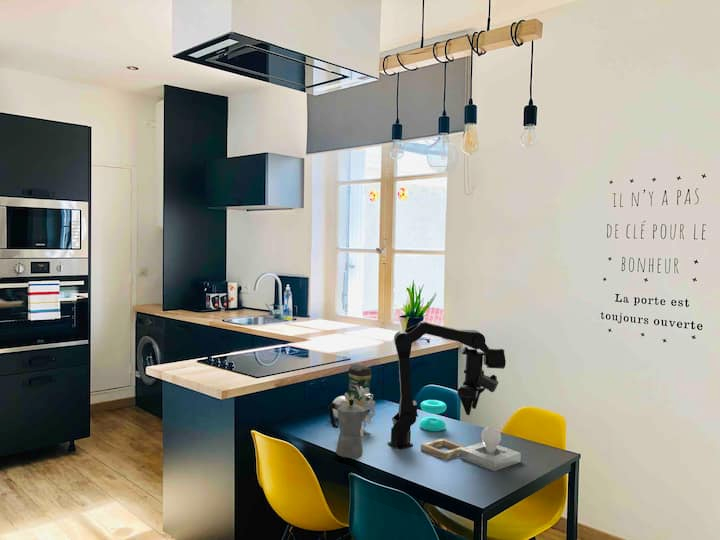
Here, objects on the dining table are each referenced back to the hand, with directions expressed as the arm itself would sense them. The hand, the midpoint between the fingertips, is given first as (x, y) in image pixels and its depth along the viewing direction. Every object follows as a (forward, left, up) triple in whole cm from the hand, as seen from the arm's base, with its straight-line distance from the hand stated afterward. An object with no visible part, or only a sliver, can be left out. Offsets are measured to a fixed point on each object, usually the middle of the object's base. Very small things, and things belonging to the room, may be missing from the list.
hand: (471, 411), depth 205 cm
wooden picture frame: (-11, +2, -13) cm, 17 cm away
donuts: (+5, +22, -13) cm, 26 cm away
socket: (-4, -12, -13) cm, 18 cm away
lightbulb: (-4, -12, -13) cm, 18 cm away
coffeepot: (-39, +20, -13) cm, 46 cm away
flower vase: (-20, +41, -13) cm, 48 cm away
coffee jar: (-2, +58, -13) cm, 59 cm away
